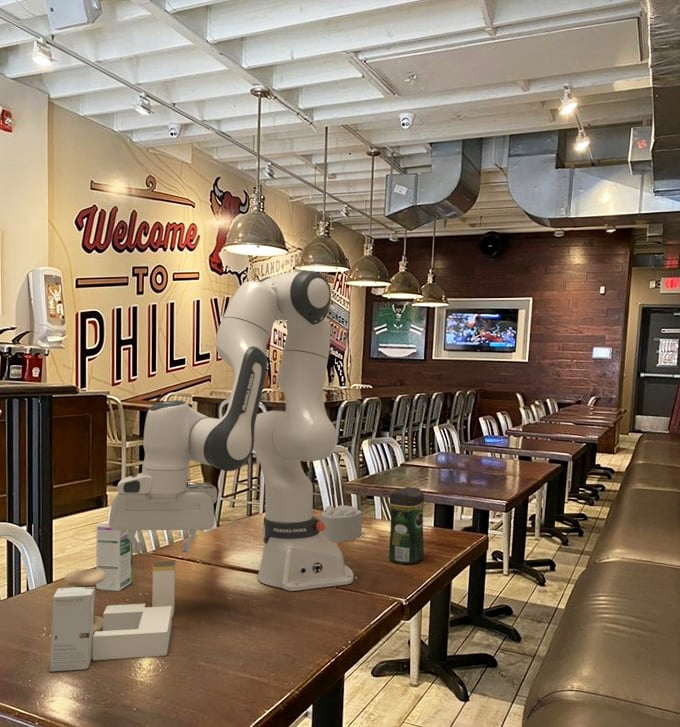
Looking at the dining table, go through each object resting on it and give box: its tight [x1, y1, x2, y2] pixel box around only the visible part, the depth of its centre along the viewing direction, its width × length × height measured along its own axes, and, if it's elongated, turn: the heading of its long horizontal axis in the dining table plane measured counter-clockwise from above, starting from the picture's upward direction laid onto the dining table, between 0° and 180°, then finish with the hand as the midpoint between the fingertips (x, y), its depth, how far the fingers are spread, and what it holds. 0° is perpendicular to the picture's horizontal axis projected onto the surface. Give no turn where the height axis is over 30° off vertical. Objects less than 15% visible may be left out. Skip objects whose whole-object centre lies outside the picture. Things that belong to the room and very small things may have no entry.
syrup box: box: [95, 519, 134, 592], centre depth 143 cm, size 6×6×14 cm
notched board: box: [92, 603, 173, 661], centre depth 115 cm, size 12×14×4 cm
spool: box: [64, 568, 105, 635], centre depth 120 cm, size 7×7×10 cm
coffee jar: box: [388, 486, 425, 565], centre depth 166 cm, size 10×8×19 cm
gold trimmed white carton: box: [151, 559, 176, 618], centre depth 127 cm, size 4×4×10 cm
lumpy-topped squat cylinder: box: [320, 504, 363, 543], centre depth 187 cm, size 10×13×9 cm
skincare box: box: [49, 586, 96, 672], centre depth 105 cm, size 6×4×12 cm
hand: (161, 552), depth 127 cm, fingers open, 8 cm apart
